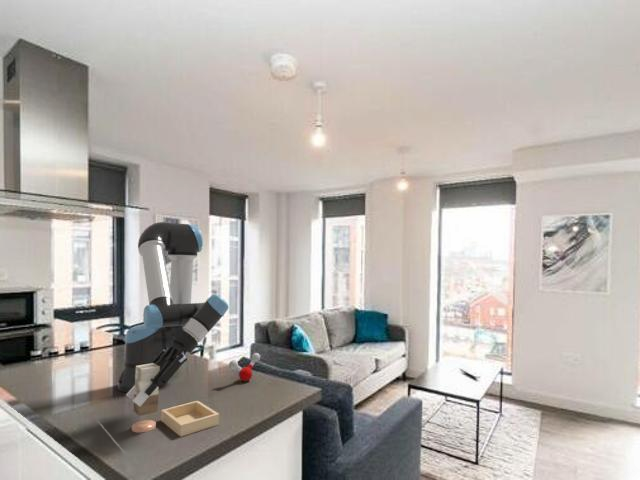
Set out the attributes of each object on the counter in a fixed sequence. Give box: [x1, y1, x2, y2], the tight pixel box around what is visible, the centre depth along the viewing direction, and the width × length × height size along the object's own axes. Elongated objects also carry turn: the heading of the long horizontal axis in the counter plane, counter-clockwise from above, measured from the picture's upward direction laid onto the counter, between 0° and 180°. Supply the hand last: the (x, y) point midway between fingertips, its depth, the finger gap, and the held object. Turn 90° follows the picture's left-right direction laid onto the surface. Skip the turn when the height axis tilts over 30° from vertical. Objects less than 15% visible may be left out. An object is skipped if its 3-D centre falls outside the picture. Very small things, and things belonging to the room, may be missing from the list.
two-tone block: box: [132, 363, 160, 417], centre depth 109 cm, size 5×5×13 cm
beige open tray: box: [160, 400, 220, 438], centre depth 114 cm, size 14×12×4 cm
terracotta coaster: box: [131, 419, 157, 434], centre depth 109 cm, size 6×6×1 cm
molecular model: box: [228, 352, 261, 382], centre depth 155 cm, size 18×6×10 cm, turn 156°
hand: (132, 400), depth 107 cm, fingers closed on two-tone block, 5 cm apart
